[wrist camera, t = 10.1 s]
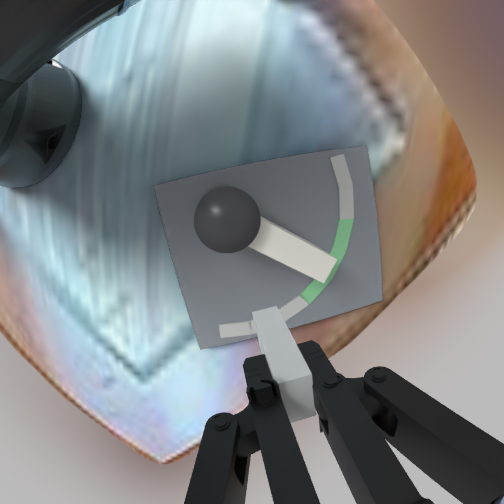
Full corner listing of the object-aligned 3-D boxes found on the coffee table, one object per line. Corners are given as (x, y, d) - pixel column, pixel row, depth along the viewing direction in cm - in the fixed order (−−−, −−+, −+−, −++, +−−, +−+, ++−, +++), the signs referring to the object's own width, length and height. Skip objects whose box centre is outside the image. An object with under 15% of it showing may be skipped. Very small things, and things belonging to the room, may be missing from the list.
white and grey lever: (188, 223, 28) (182, 235, 22) (212, 176, 27) (212, 175, 21) (312, 283, 31) (333, 306, 25) (335, 241, 30) (362, 256, 24)
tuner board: (200, 342, 33) (200, 350, 31) (156, 185, 28) (153, 185, 26) (376, 295, 34) (383, 300, 33) (360, 146, 30) (367, 145, 28)
